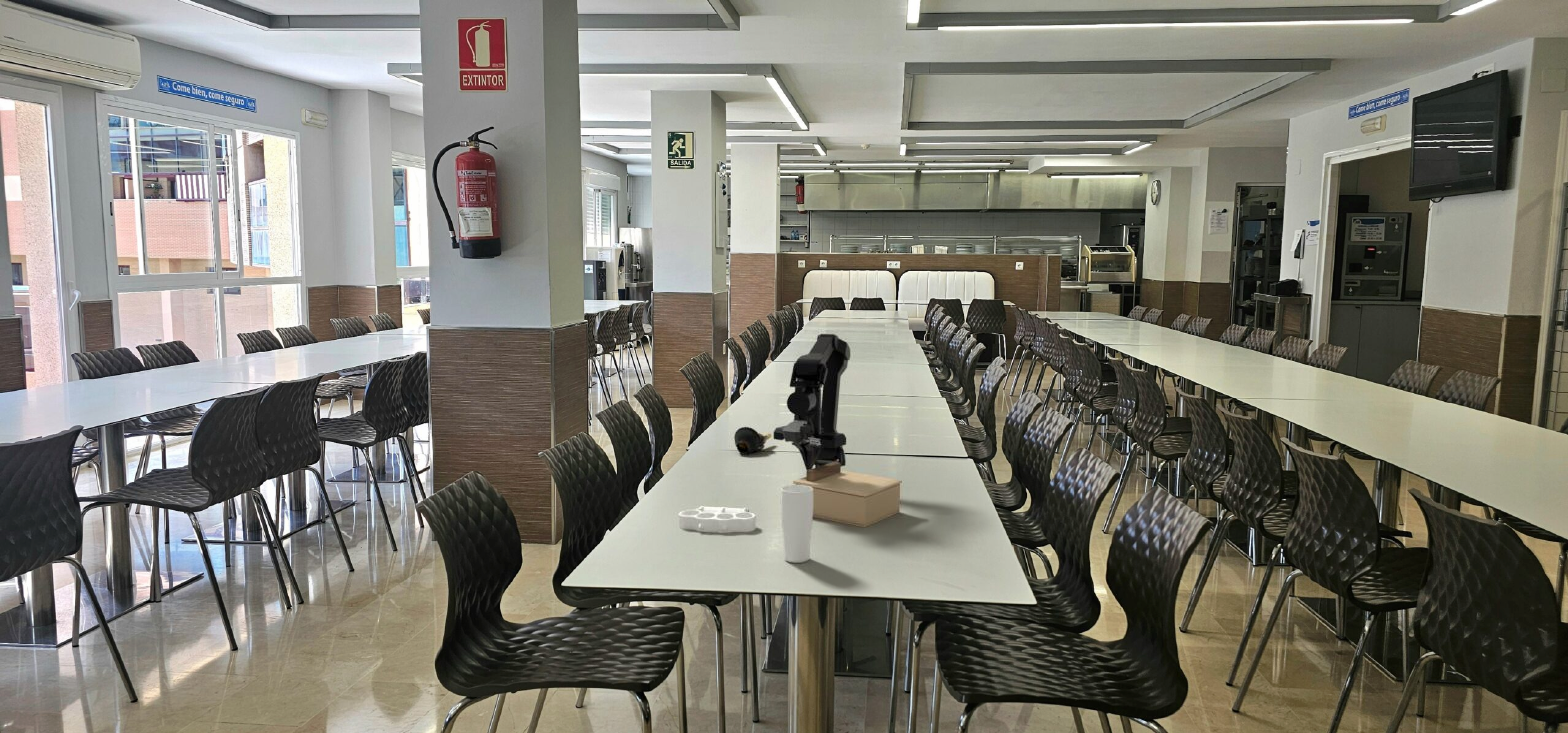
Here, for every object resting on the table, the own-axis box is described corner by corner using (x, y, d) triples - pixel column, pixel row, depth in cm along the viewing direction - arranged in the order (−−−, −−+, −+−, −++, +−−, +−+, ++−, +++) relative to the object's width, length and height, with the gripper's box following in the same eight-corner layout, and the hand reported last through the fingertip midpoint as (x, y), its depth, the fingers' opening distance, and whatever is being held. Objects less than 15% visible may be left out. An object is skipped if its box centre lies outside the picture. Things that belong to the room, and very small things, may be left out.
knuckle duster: (762, 519, 222) (750, 537, 207) (689, 516, 224) (672, 534, 210) (762, 505, 221) (750, 523, 207) (689, 502, 224) (672, 519, 210)
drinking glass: (779, 554, 194) (779, 484, 193) (811, 554, 195) (811, 484, 193) (781, 565, 188) (782, 493, 186) (815, 564, 188) (815, 492, 186)
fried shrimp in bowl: (723, 440, 291) (741, 413, 306) (740, 469, 294) (756, 441, 309) (748, 432, 287) (764, 405, 302) (764, 461, 290) (780, 433, 305)
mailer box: (794, 512, 226) (794, 484, 225) (831, 499, 239) (831, 472, 238) (864, 527, 214) (865, 497, 213) (899, 512, 227) (900, 484, 226)
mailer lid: (793, 483, 225) (793, 470, 225) (831, 471, 238) (831, 459, 238) (865, 496, 213) (865, 483, 212) (901, 482, 226) (902, 470, 226)
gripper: (759, 409, 230) (759, 471, 231) (821, 417, 218) (821, 482, 220) (786, 403, 238) (786, 463, 240) (847, 411, 227) (847, 473, 229)
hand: (809, 470), depth 232 cm, fingers closed
